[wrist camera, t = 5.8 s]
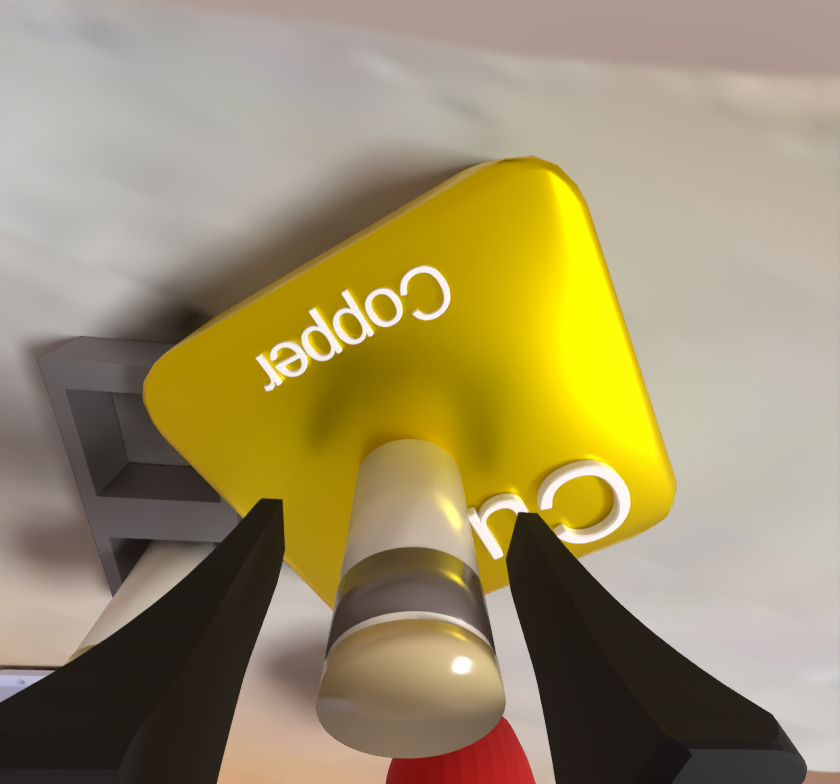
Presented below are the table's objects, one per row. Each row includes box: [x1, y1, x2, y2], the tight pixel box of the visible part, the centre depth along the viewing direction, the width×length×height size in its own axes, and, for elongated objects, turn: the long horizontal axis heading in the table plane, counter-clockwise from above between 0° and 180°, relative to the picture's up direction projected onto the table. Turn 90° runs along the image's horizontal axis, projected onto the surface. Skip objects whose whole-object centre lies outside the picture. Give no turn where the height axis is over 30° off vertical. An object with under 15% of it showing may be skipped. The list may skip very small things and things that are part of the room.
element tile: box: [143, 156, 676, 610], centre depth 17 cm, size 15×15×5 cm
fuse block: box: [37, 336, 243, 597], centre depth 19 cm, size 6×14×2 cm, turn 174°
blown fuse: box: [316, 439, 506, 758], centre depth 12 cm, size 4×4×7 cm
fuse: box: [65, 539, 221, 665], centre depth 18 cm, size 4×4×7 cm
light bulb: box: [386, 717, 536, 784], centre depth 22 cm, size 9×7×10 cm
